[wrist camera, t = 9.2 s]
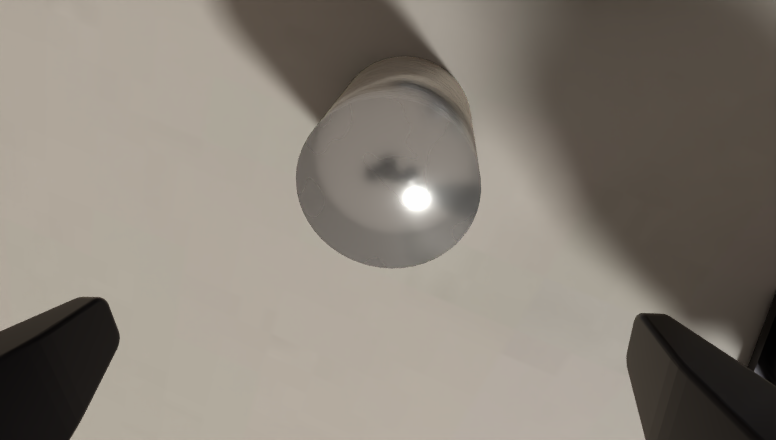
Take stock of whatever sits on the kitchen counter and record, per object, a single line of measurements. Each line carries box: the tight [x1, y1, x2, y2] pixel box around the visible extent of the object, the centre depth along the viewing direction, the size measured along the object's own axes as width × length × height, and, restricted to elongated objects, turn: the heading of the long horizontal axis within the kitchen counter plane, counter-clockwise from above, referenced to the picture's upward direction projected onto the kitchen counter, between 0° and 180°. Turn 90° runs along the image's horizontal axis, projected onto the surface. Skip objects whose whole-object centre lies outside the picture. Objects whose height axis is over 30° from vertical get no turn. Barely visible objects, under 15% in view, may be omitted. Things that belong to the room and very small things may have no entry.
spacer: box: [296, 56, 481, 268], centre depth 16 cm, size 5×5×6 cm
